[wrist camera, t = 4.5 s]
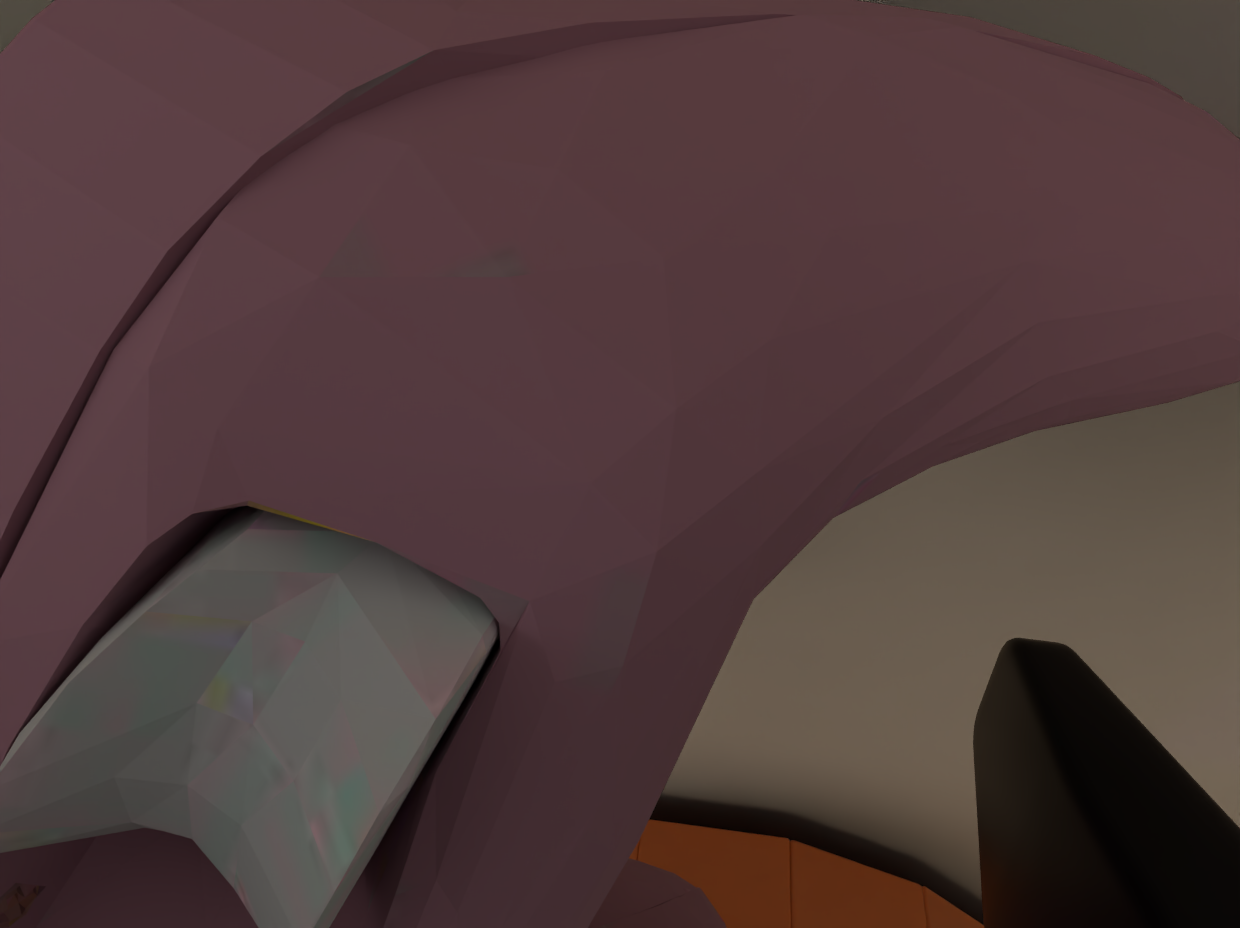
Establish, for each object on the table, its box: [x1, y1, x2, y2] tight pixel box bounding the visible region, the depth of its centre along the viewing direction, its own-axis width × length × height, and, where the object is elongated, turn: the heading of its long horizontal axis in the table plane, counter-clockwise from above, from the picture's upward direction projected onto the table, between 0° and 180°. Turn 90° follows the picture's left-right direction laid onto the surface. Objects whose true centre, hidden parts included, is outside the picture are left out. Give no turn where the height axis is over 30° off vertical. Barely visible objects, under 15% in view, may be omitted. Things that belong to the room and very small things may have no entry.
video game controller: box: [0, 0, 1240, 928], centre depth 7 cm, size 10×5×7 cm, turn 162°
